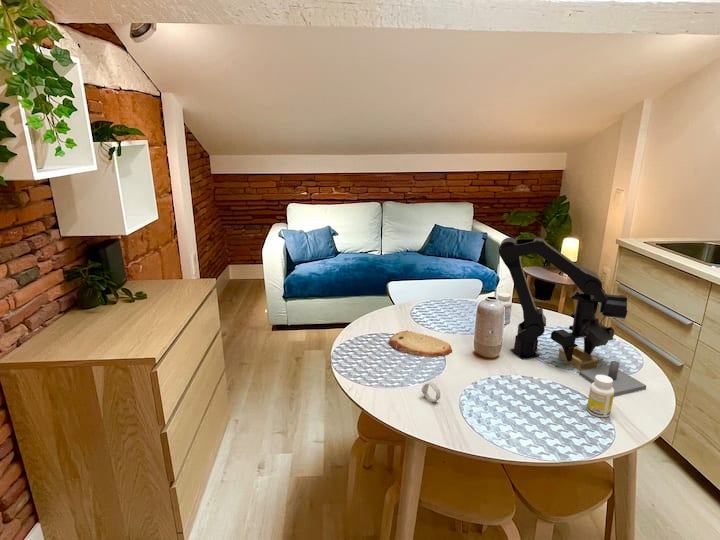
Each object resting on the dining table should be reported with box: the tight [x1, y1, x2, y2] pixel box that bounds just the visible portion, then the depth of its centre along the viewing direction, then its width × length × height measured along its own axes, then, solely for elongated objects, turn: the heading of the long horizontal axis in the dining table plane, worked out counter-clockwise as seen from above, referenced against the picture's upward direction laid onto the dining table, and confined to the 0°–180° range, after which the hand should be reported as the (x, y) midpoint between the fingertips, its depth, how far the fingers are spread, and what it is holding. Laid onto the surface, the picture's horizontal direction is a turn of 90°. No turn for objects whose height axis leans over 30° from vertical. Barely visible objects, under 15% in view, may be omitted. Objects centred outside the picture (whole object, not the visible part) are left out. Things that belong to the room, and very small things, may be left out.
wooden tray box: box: [558, 346, 599, 372], centre depth 136 cm, size 7×9×3 cm
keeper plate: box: [578, 360, 647, 397], centre depth 125 cm, size 12×12×6 cm
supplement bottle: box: [586, 375, 615, 418], centre depth 111 cm, size 5×5×10 cm
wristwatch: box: [421, 381, 441, 403], centre depth 117 cm, size 3×5×5 cm, turn 41°
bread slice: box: [388, 330, 453, 358], centre depth 147 cm, size 18×18×4 cm
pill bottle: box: [495, 292, 513, 325], centre depth 165 cm, size 6×6×11 cm
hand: (577, 359), depth 136 cm, fingers closed on wooden tray box, 7 cm apart
